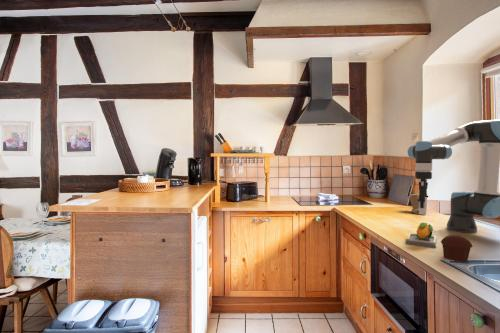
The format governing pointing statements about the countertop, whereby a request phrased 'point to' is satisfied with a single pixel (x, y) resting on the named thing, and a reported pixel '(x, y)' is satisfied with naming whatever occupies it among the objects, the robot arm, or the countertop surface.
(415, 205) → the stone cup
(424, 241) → the board
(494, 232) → the countertop surface
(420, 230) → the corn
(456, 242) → the muffin
